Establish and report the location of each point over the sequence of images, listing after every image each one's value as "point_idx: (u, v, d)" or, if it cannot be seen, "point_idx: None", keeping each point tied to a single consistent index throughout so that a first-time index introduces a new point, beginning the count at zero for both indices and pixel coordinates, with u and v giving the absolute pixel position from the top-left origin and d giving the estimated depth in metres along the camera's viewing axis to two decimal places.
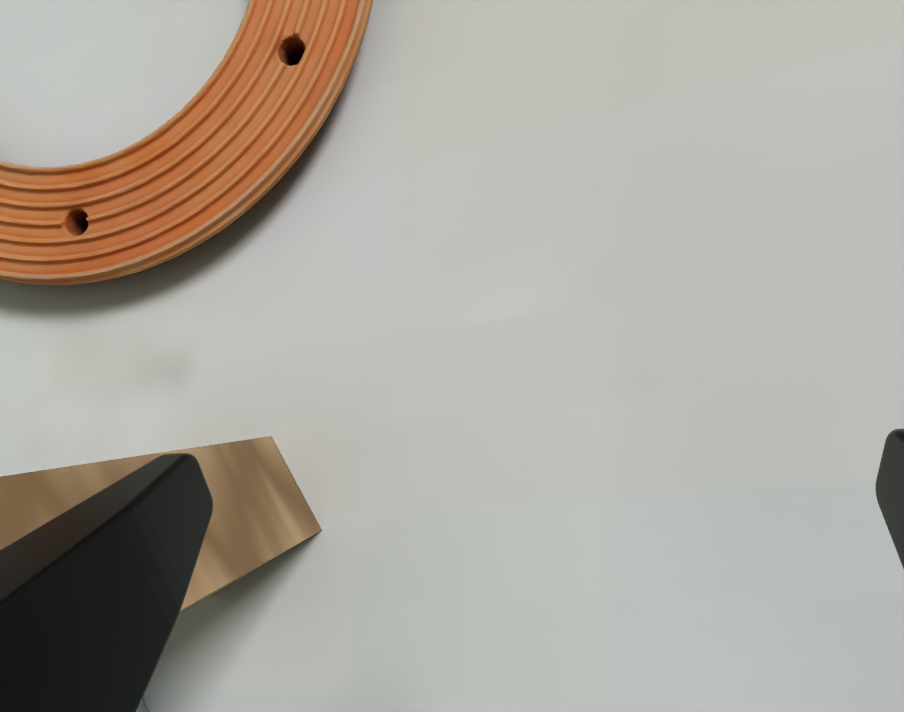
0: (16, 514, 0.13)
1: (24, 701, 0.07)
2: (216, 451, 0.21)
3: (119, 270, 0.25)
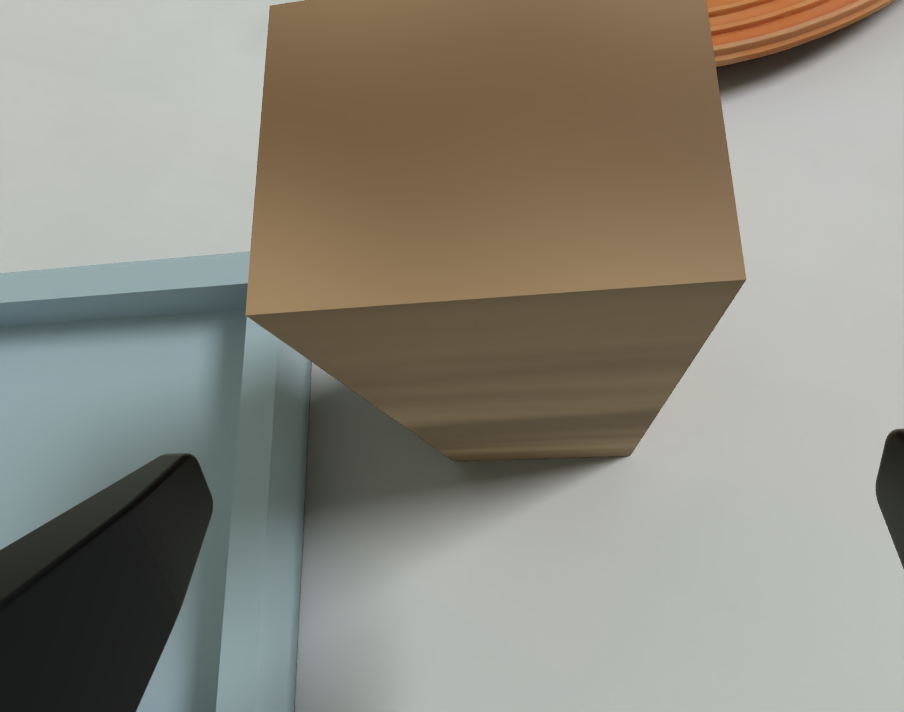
0: None
1: (24, 701, 0.07)
2: None
3: None
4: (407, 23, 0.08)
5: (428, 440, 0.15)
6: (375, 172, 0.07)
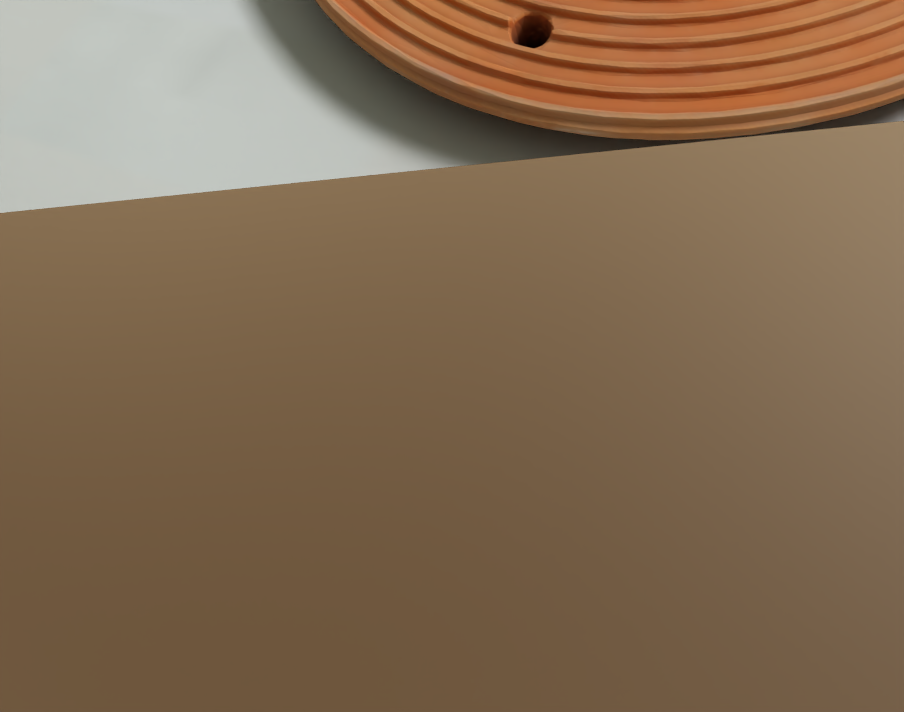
0: None
1: None
2: None
3: (562, 119, 0.16)
4: (208, 306, 0.03)
5: None
6: None
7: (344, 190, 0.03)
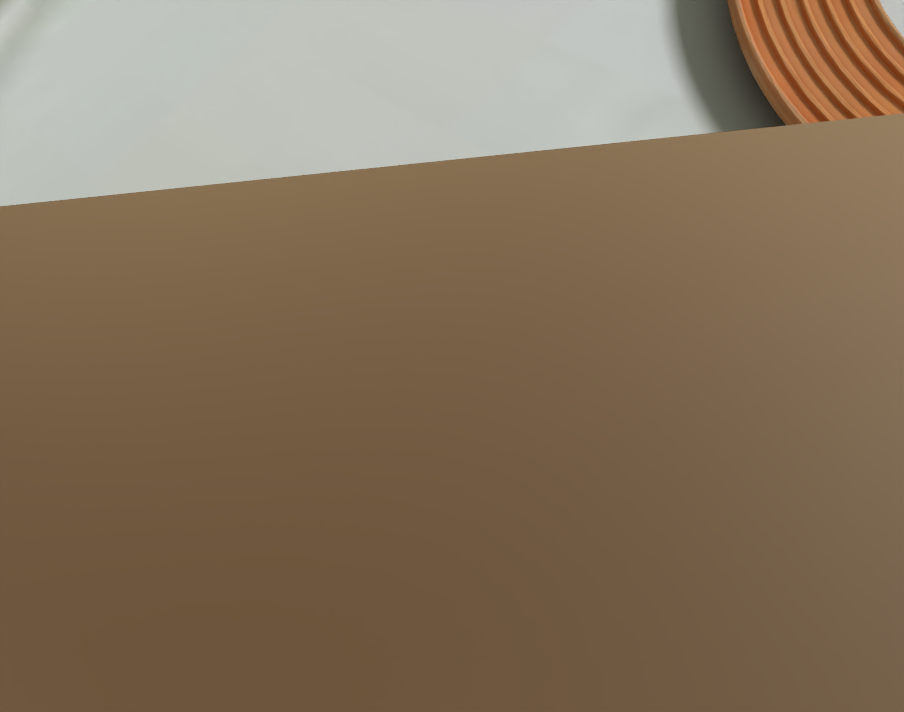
0: None
1: None
2: None
3: None
4: (214, 297, 0.03)
5: None
6: None
7: (350, 182, 0.03)
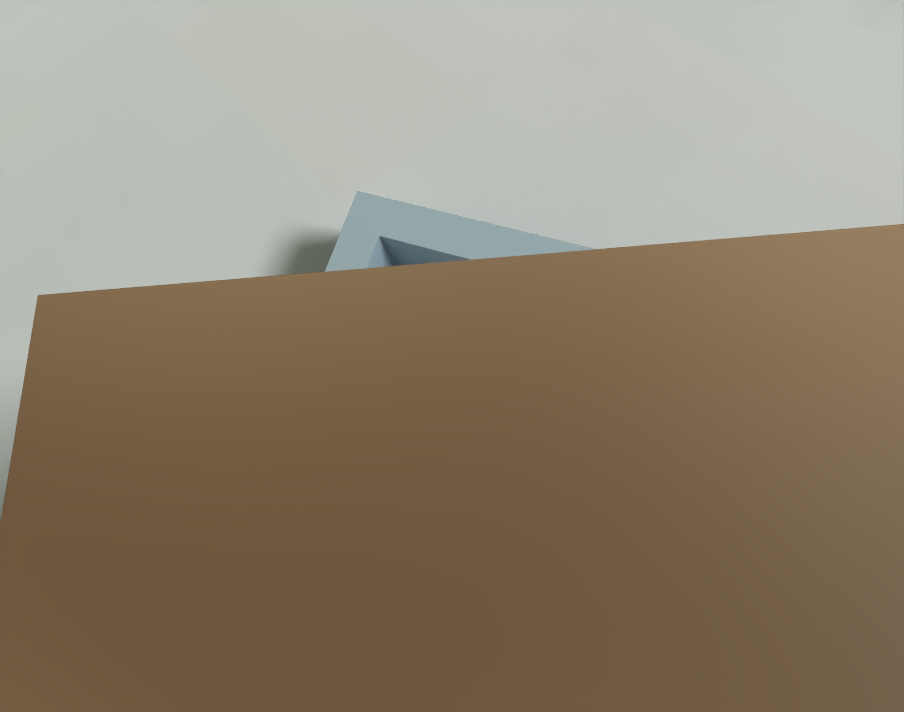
0: None
1: None
2: None
3: None
4: (295, 363, 0.04)
5: None
6: None
7: (396, 275, 0.04)
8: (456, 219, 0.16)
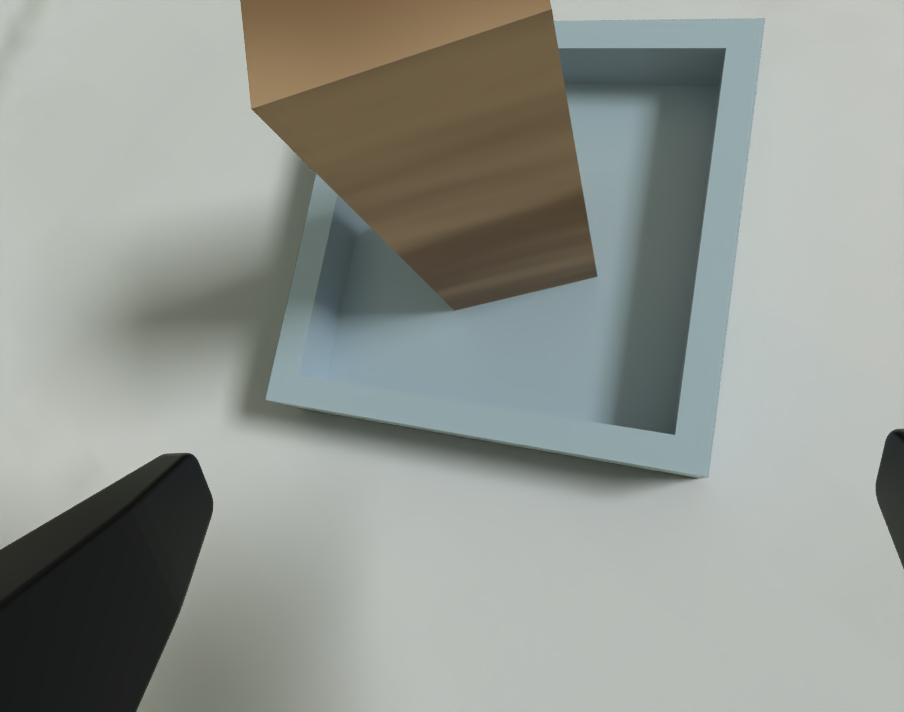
0: None
1: (24, 701, 0.07)
2: None
3: None
4: None
5: (422, 274, 0.19)
6: (317, 2, 0.11)
7: None
8: None
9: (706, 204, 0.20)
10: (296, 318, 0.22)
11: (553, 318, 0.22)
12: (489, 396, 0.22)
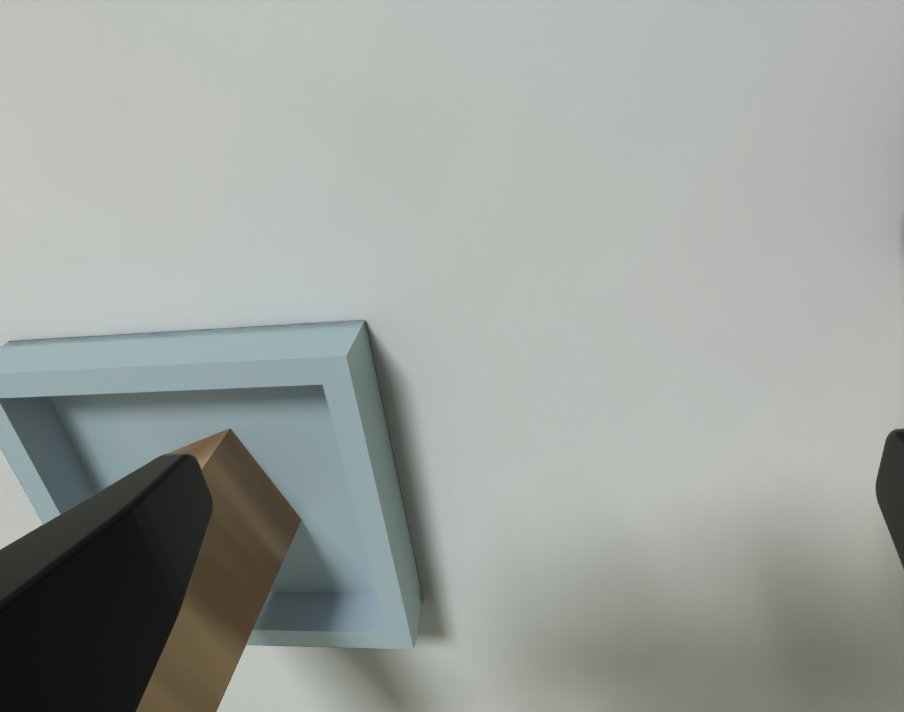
0: None
1: (24, 701, 0.07)
2: None
3: None
4: None
5: (265, 596, 0.24)
6: None
7: None
8: None
9: (128, 392, 0.22)
10: (344, 640, 0.28)
11: (277, 452, 0.26)
12: None
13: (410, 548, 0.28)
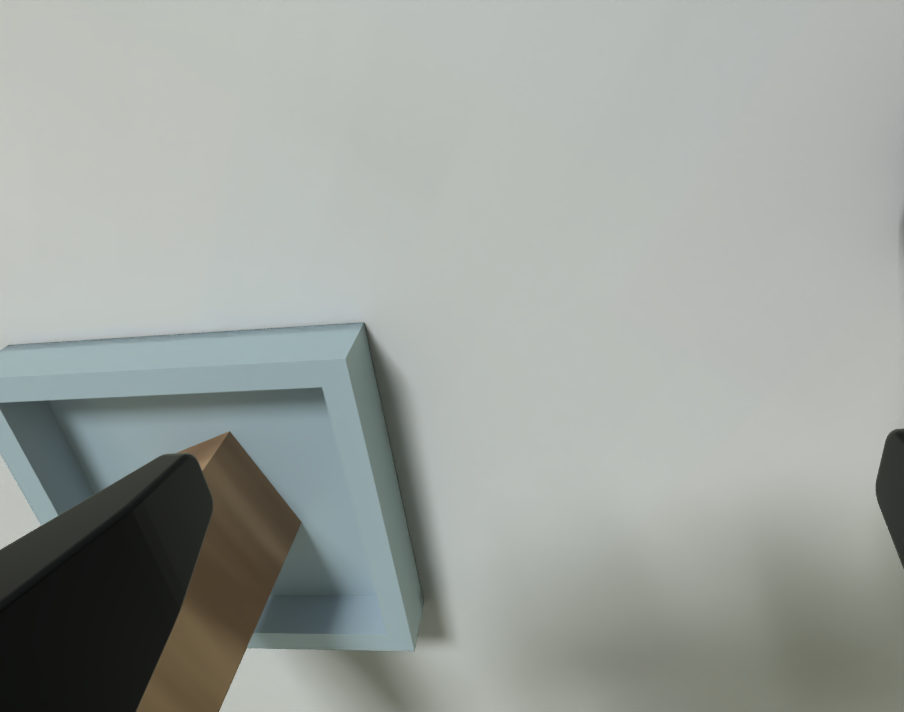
0: None
1: (24, 701, 0.07)
2: None
3: None
4: None
5: (265, 600, 0.24)
6: None
7: None
8: None
9: (127, 395, 0.22)
10: (345, 642, 0.28)
11: (277, 455, 0.26)
12: None
13: (410, 550, 0.28)
